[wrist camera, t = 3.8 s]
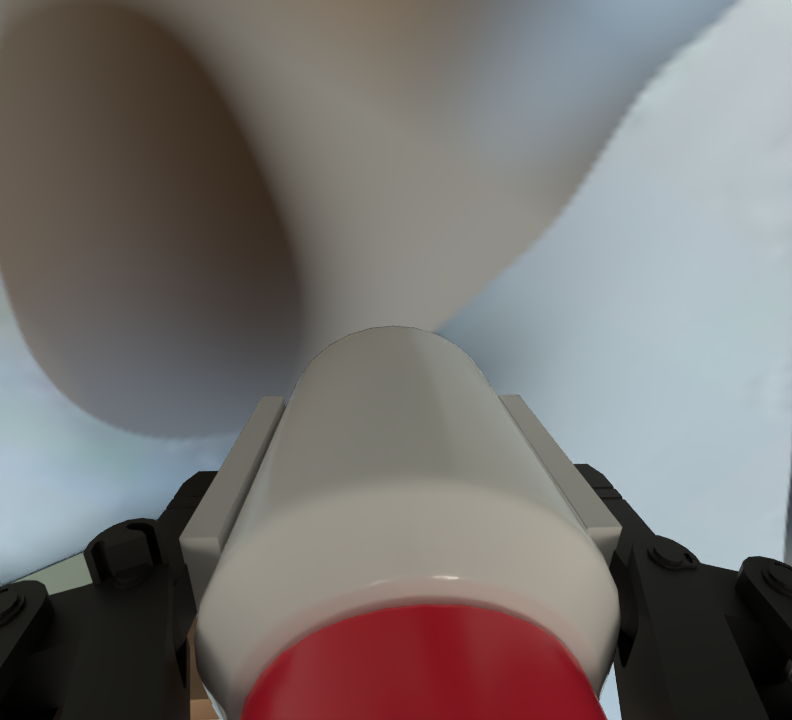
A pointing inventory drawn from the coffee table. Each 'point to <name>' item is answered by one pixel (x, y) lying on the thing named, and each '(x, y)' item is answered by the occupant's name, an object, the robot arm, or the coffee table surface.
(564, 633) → the pill bottle
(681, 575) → the robot arm
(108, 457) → the coffee table surface
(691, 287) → the coffee table surface
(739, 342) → the coffee table surface
